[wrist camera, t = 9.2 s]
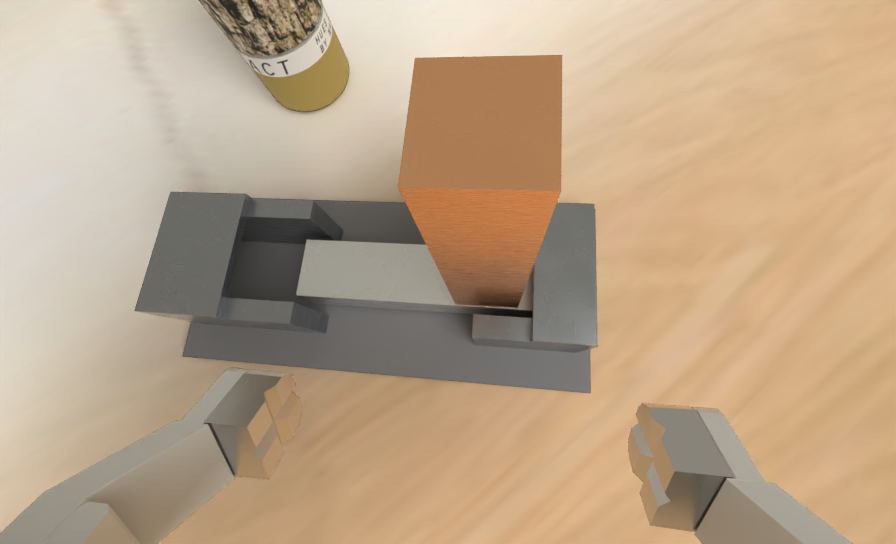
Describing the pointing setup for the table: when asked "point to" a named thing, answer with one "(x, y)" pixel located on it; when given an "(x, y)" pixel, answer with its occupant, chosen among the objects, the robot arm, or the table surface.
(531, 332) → the socket
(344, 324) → the grey rectangular plate
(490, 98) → the brown piece
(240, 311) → the grey u-shaped block
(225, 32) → the paper tube
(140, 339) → the table surface
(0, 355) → the table surface
